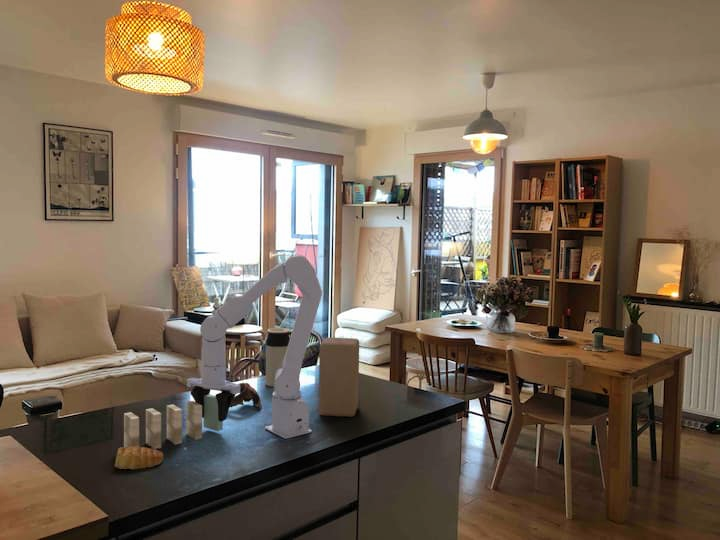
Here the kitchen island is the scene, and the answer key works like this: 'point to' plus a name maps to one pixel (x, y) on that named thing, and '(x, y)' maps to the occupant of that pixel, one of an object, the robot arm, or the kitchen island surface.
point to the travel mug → (275, 352)
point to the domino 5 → (211, 413)
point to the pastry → (137, 457)
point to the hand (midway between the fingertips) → (213, 418)
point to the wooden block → (338, 377)
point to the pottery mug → (246, 396)
